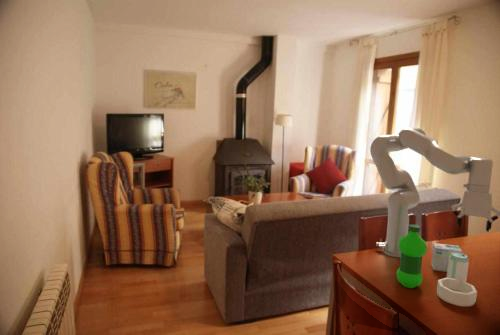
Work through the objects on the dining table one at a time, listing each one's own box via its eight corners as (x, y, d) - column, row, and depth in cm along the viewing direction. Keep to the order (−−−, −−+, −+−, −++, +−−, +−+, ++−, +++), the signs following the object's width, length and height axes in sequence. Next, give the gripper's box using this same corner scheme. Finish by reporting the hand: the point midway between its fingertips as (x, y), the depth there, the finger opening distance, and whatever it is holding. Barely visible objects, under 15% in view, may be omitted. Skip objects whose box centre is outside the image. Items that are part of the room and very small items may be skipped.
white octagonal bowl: (440, 302, 126) (441, 290, 125) (434, 286, 137) (435, 275, 137) (479, 309, 122) (480, 297, 121) (469, 292, 133) (471, 281, 133)
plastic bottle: (390, 278, 144) (395, 221, 140) (416, 279, 143) (421, 222, 139) (400, 290, 134) (406, 230, 130) (427, 291, 133) (434, 230, 129)
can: (451, 276, 146) (454, 250, 145) (469, 283, 141) (472, 256, 139) (443, 280, 143) (446, 253, 141) (460, 287, 137) (464, 259, 135)
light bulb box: (456, 267, 155) (459, 245, 153) (460, 274, 149) (463, 251, 147) (430, 264, 158) (432, 242, 157) (432, 270, 152) (435, 247, 150)
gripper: (454, 187, 139) (449, 227, 142) (506, 192, 131) (500, 235, 133) (453, 184, 145) (448, 222, 148) (502, 189, 137) (497, 229, 140)
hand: (473, 228), depth 141 cm, fingers open, 9 cm apart
